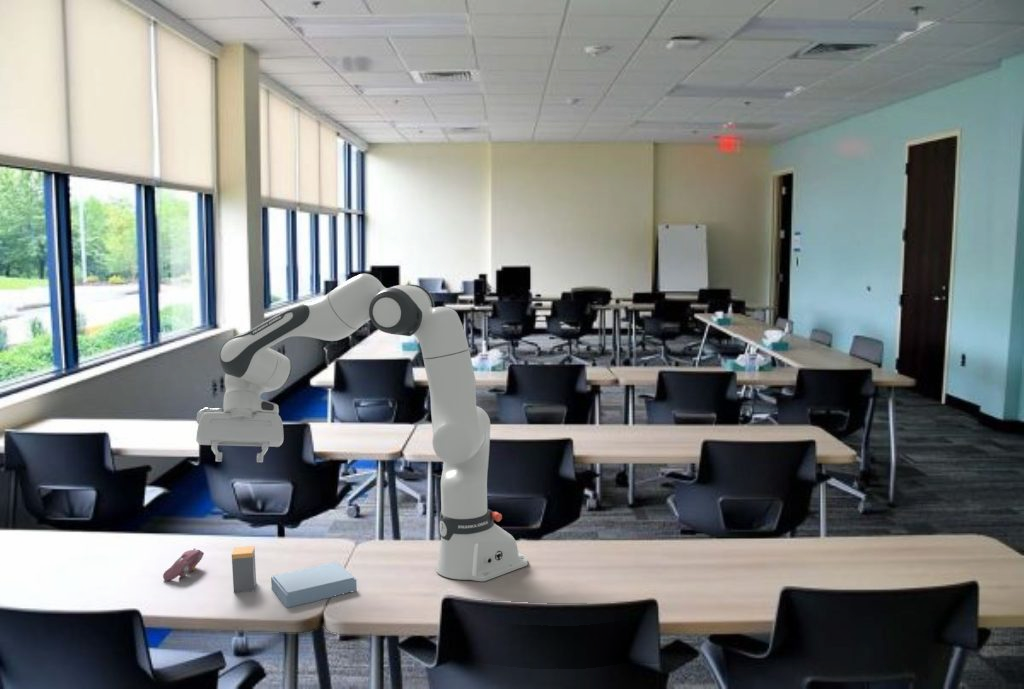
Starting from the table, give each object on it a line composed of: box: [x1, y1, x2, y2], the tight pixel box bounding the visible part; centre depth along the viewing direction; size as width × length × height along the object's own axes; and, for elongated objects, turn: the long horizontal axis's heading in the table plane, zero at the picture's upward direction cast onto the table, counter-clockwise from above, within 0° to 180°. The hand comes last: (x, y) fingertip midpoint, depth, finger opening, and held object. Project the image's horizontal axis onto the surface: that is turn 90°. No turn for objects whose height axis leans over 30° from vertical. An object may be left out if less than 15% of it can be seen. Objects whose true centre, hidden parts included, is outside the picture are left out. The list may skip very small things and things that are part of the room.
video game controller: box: [162, 548, 204, 582], centre depth 200 cm, size 10×5×7 cm, turn 169°
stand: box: [270, 561, 358, 609], centre depth 190 cm, size 16×12×3 cm
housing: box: [231, 545, 257, 593], centre depth 192 cm, size 4×4×9 cm
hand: (239, 461), depth 200 cm, fingers open, 8 cm apart
